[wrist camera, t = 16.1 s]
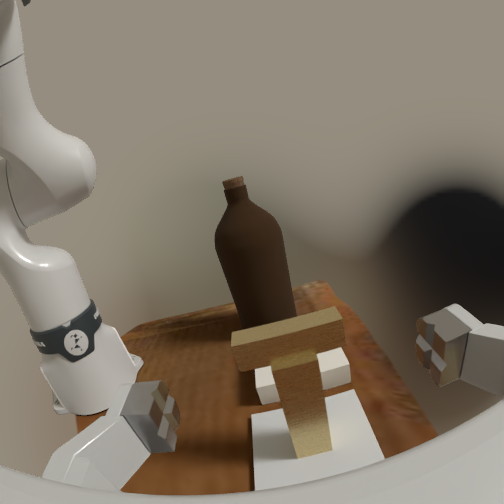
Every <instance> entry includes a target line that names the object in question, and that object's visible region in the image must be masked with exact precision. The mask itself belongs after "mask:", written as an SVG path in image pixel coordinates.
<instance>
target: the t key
mask: <svg viewBox="0 0 504 504" xmlns="http://www.w3.org/2000/svg"><path fill="white" fill-rule="evenodd" d="M343 346H346V341H345V333H344V325H343V318H342V317H341V315H340V314H339V312H338V310H337V309H336V307H335V306H334V307H331V308H327V309H324V310H320V311H316V312H313V313H309V314H305V315H301V316H298V317H294V318H290V319H286V320H282V321H278V322H274V323H270V324H266V325H261V326H257V327H253V328H248V329H244V330H240V331H235V332H232V338H231V348H232V351H233V354H234V356H235V359H236V362H237V365H238V368H239V370H240V372H244V371H248V370H253V369H258V368H262V367H267V366H271V371H272V375H273V378H274V381H275V385H276V388H277V392H278V395H279V398H280V402H281V405H282V409H283V412H284V415H285V419H286V422H287V425H288V429H289V432H290V435H291V439H292V442H293V445H294V448H295V452H296V455H297V458H298V459H299V458H304V457H308V456H312V455H316V454H320V453H324V452H328V451H332V443H331V436H330V429H329V423H328V416H327V410H326V403H325V397H324V391H323V385H322V379H321V373H320V367H319V362H318V358H317V355H316V354H319V353H323V352H326V351H330V350H333V349H337V348H340V347H343Z"/></svg>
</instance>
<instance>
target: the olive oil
mask: <svg viewBox="0 0 504 504" xmlns="http://www.w3.org/2000/svg"><path fill="white" fill-rule="evenodd" d="M223 186H224V188H225V190H224V193H225V196H226V200H227V203H228V206H227V209H226V211H225V213H224V215H223V217H222V219H221V221H220V223H219V225H218V227H217V229H216V232H215V249H216V252H217V255H218V258H219V261H220V263H221V266H222V269H223V272H224V274H225V277H226V280H227V283H228V286H229V288H230V291H231V294H232V297H233V299H234V302H235V305H236V308H237V311H238V314H239V317H240V320H241V323H242V325H243V328H244V329H248V328H253V327H257V326H261V325H266V324H270V323H274V322H278V321H282V320H286V319H290V318H294V317H297V315H296V309H295V304H294V298H293V293H292V288H291V282H290V276H289V270H288V265H287V259H286V254H285V247H284V241H283V236H282V231H281V229H280V226H279V224H278V223H277V221H276V220H275V218H274V217H273V216H272V215H271V214H270V213H268V212H267V211H265V210H264V209H262V208H260V207H259V206H257V205H255V204H254V203H253V202H252V201H250V200H249V198H248V193H247V189H246V185H244V182H243V177H242V176H241V177H236V178H232V179H229V180H226V181H223Z"/></svg>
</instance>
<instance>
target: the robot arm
mask: <svg viewBox="0 0 504 504" xmlns="http://www.w3.org/2000/svg"><path fill="white" fill-rule="evenodd" d="M30 1H31V0H22V2H23V5H24V6H26V5H27V4H28V3H30ZM0 156H2V157H3V158H4V159H2V160H0V272H1V274H2V275H3V277H4V278H5V279H6V281H7V282H8V284H9V286H10V288H11V289H12V292H13V294H14V296H15V297H16V299H17V301H18V303H19V305H20V307H21V309H22V311H23V314H24V316H25V318H26V320H27V322H28V324H29V326H30V333H31V335H32V339H33V341H34V343H35V344H36V346H37V348H38V349H39V351H40V352H41V353H42V361H41V367H40V369H41V372H42V373H43V375H44V377H45V379H46V380H47V382H48V384H49V386H50V387H51V389H52V390H53V408H54V410H55V412H56V413H57V414H67V413H73V414H77V415H90V414H95V413H98V412H101V411H104V410H106V409H108V408H109V409H108V411H107V413H106V416H101V417H100V418H99V419H97V420H96V421H95V422H93V423H92V424H91V425H90V426H88V427H87V428H86V429H84V430H83V431H82V432H80V433H79V434H78V435H76V436H75V437H74V438H72V439H71V440H70V441H68V442H67V443H66V444H64V445H63V446H61V447H60V448H59V449H57V450H56V451H55V452H54V453H53V455H52V457H51V459H50V461H49V463H48V465H47V467H46V469H45V471H44V474H43V475H42V478H41V477H38V476H34V475H31V474H27V473H24V472H21V471H18V470H15V469H12V468H8V467H6V466H3V465H0V504H504V326H499V325H493V324H488V323H487V324H485V325H483V324H482V323H481V322H480V321H479V320H477V319H476V318H475V317H473V316H472V315H471V314H470V313H468V312H467V311H466V310H465V309H463V308H462V307H461V306H460V305H458V304H453V305H450V306H449V307H446V308H444V309H442V310H440V311H437V312H435V313H432V314H430V315H427V316H425V317H422V318H420V319H418V321H417V324H416V331H417V332H418V333H419V334H420V335H419V336H418V338H417V340H416V341H415V350H416V355H417V358H418V361H419V362H420V364H421V365H422V367H424V368H427V369H430V373H429V376H430V377H431V378H432V380H433V381H434V382H435V383H436V385H437V386H438V387H441V386H443V385H446V384H448V383H450V382H452V381H454V380H456V379H459V378H460V379H461V380H463V381H465V382H468V383H470V384H472V385H474V386H477V387H479V388H481V389H483V390H486V391H488V392H490V393H493V394H495V395H497V396H500V397H502V399H501V401H500V402H498V403H497V404H495V405H494V406H492V407H490V408H489V409H487V410H486V411H484V412H482V413H481V414H479V415H477V416H475V417H474V418H472V419H470V420H469V421H467V422H465V423H463V424H462V425H459V426H458V427H456V428H454V429H452V430H450V431H448V432H446V433H444V434H442V435H440V436H438V437H436V438H434V439H432V440H430V441H428V442H425V443H423V444H421V445H419V446H416V447H414V448H412V449H409V450H407V451H405V452H402V453H400V454H397V455H395V456H392V457H389V458H387V459H384V460H381V461H379V462H376V463H373V464H370V465H367V466H364V467H361V468H358V469H354V470H351V471H348V472H344V473H341V474H337V475H333V476H330V477H326V478H322V479H317V480H313V481H309V482H304V483H299V484H294V485H289V486H283V487H278V488H271V489H265V490H257V491H249V492H240V493H229V494H215V495H147V494H133V493H123V492H122V491H121V490H120V489H121V488H122V487H123V486H124V485H125V484H126V482H127V481H128V480H129V479H130V478H131V477H132V475H133V474H134V473H135V472H136V471H137V470H138V468H139V467H140V466H141V465H142V464H143V463H144V461H145V460H146V459H147V458H148V457H149V455H150V453H159V452H174V451H175V445H176V440H177V435H176V433H175V432H174V431H175V430H176V429H177V428H178V427H179V424H180V411H179V408H178V405H177V403H176V401H175V399H173V398H172V397H170V396H168V393H169V388H168V386H167V385H166V383H165V382H164V381H151V382H138V383H135V381H136V376H137V372H138V371H139V369H140V368H141V367H142V365H143V361H142V359H141V358H140V357H138V356H136V355H133V354H130V353H128V351H127V349H126V347H125V345H124V344H123V342H122V340H121V338H120V336H119V335H118V333H117V331H116V329H115V328H114V327H111V326H109V325H105V324H104V323H102V319H101V317H100V314H99V311H98V309H97V307H96V306H95V304H94V302H93V300H91V299H89V296H88V294H87V292H86V289H85V287H84V284H83V281H82V279H81V276H80V274H79V271H78V269H77V266H76V263H75V260H74V259H73V257H72V256H71V255H70V254H69V253H68V252H66V251H65V250H63V249H60V248H56V247H52V246H43V245H36V244H34V243H32V242H31V241H30V240H29V238H28V237H27V235H26V232H25V229H26V228H28V227H29V226H31V225H34V224H36V223H38V222H41V221H43V220H45V219H48V218H50V217H53V216H55V215H58V214H60V213H62V212H65V211H67V210H68V209H70V208H72V207H73V206H75V205H77V204H78V203H80V202H81V201H83V200H84V199H86V198H88V197H89V196H90V194H91V193H92V190H93V188H94V185H95V181H96V175H97V174H96V173H97V170H96V162H95V158H94V156H93V153H92V152H91V150H90V149H89V147H88V146H87V145H86V144H85V143H84V142H83V141H82V140H81V139H79V138H77V137H75V136H71V135H68V134H65V133H63V132H61V131H59V130H57V129H56V128H54V127H53V126H51V125H50V124H49V123H48V122H47V121H46V120H45V119H44V118H43V117H42V116H41V114H40V113H39V111H38V109H37V108H36V106H35V103H34V101H33V98H32V94H31V90H30V87H29V82H28V78H27V72H26V65H25V58H24V48H23V40H22V33H21V25H20V19H19V14H18V9H17V4H16V0H0Z"/></svg>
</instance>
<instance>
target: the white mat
mask: <svg viewBox="0 0 504 504" xmlns="http://www.w3.org/2000/svg"><path fill="white" fill-rule="evenodd" d="M325 403H326V410H327V416H328V423H329V429H330V436H331V443H332V451H328V452H324V453H320V454H316V455H312V456H308V457H304V458H299V459H298V458H297V455H296V452H295V448H294V445H293V442H292V439H291V435H290V432H289V429H288V425H287V422H286V419H285V415H284V412H283V409H278V410H273V411H268V412H263V413H258V414H253V415H252V437H253V458H254V479H255V491H257V490H265V489H271V488H278V487H283V486H289V485H294V484H299V483H304V482H309V481H313V480H317V479H322V478H326V477H330V476H333V475H337V474H341V473H344V472H348V471H351V470H354V469H358V468H361V467H364V466H367V465H370V464H373V463H376V462H379V461H381V460H384V459H385V458H384V456H383V454H382V451H381V449H380V447H379V444H378V442H377V440H376V437H375V435H374V433H373V431H372V428H371V426H370V424H369V422H368V419H367V417H366V415H365V413H364V411H363V408H362V406H361V404H360V402H359V400H358V397H357V395H356V393H355V391H354V389H353V390H350V391H347V392H343V393H340V394H337V395H333V396H330V397H326V398H325Z"/></svg>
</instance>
